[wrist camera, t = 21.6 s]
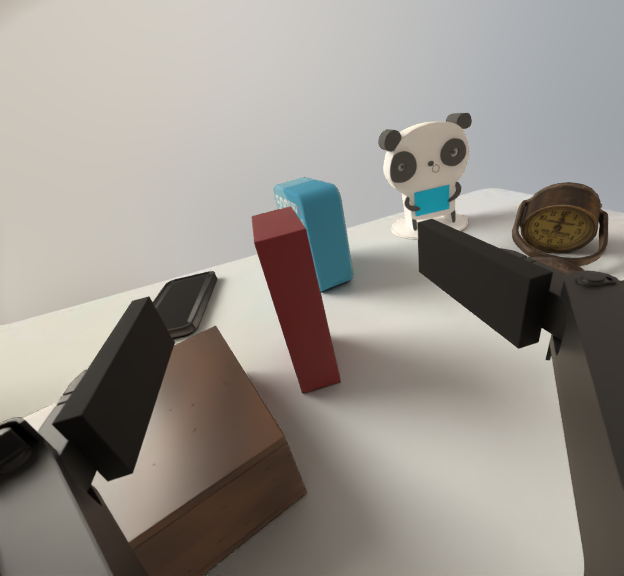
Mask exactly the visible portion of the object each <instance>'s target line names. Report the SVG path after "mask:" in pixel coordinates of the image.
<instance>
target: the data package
mask: <svg viewBox="0 0 624 576" xmlns="http://www.w3.org/2000/svg"><path fill="white" fill-rule="evenodd" d="M274 195H275V199H276V203H277V207H278V209H282V208H286V207H289V206H291V207H292V209H293V210H294V212H295V213H296V215H297V216H298V218H299V219H300V221H301V222H302V224H303V225H304V227H305V228H306V230H307V234H308V239H309V243H310V247H311V252H312V256H313V261H314V265H315V270H316V274H317V279H318V283H319V287H320V291H324V290H326V289H329V288H331V287H334V286H337V285H339V284H342V283H344V282H347V281H350V280H351V279H352V278H353V269H352V263H351V256H350V250H349V244H348V237H347V231H346V225H345V218H344V213H343V206H342V200H341V195H340V193H339V190H338V189H337V187H336V186H335V185H334V184H331V183H326V182H323V181H318V180H314V179H310V178H306V177H303V178H299V179H296V180H292V181H289V182H286V183H282V184H278V185H275V186H274Z"/></svg>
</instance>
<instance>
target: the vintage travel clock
mask: <svg viewBox="0 0 624 576" xmlns="http://www.w3.org/2000/svg"><path fill="white" fill-rule="evenodd" d="M601 207H602V204H601V203H600V199H599V196H598V194H597V193H595V191H594V190H593V189H592V188H590V187H588V186H586V185H583V184H579V183H570V182H567V183H557V184H554V185H550V186H548V187H546V188H544V189H542V190H540V191H539V192H537V193H536V194H535V195H534V196H533V197H532V198H530V199H528V200H524V201H523V202H522V203H521V204H520V206H519V208H518V212H517V215H516V219H515V223H514V226H513V230H512V238H513V241H514V242H515V244H516V245H517V246H518V247H519V248H520V249H521V250H522V251H523V252H524V253H525V254H527V255H528V256H529V257H530V258H533V259H535V260H536V261H540V262H542V263H544V264H547V265H549V266H551V267H554V268H556V269H558V270H561V271H563V272H565V273H568V274H569V273H571V272H576V271H584V270H583V269H582V268H581V267H579V266H582V265H588V264H590V263H592V262H594V261H596V260H597V259H599V258H600V257H601V255H602V254H603V253H604V251H605V250H606V247H607V243H608V214H607V212H605V211H603V210H601ZM598 222H599V224H600V228H599V249H598V251H597V252H596V253H595V254H593V255H591V256H586V257H582V258H563V257H558V256H554V255H550V254H546V253H543V252H541V251H544V252H549V253H565V252H570V251H573V250H576V249H580V248H582V247H583V246H585V245H587V244H588V243H589V242H591V241H592V240H593V238H594V237H595V236H596V234H597V230H598ZM519 226H520V227H521V235H522V237H523V239H524V240H523V239H522V237H521V236H520V234H519V231H518V229H519ZM532 247H533V248H532ZM534 248H535V249H534ZM536 249H537V250H536ZM538 250H539V251H538Z"/></svg>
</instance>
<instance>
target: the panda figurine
mask: <svg viewBox="0 0 624 576" xmlns="http://www.w3.org/2000/svg"><path fill="white" fill-rule="evenodd" d="M471 121H472V120H471V116H470V114H468V113H457V114H451V115H449V116H448V117H447V119H446V122H437V121H436V122H424V123H419V124H416V125H413V126H410V127H408V128H406V129H404V130H403V131H401V132H400V133H399V132H398V131H396V130H385V131H383V132H382V133H381V135H380V137H379V146H380V148H381V149H383V150H386V151H387V152H386V155H385V159H384V167H383V170H384V175H385V178H386V179H387V181H388V182H389V184H390V185H391V186H392V187H394V188H395V189H397V190H398V191H399V192H401V193H402V199H403V206H404V212H405V217H404V218H401V219H399V220H397V221H396V222H395V223H394V224H393V225H392V232H393V233H394V234H395V235H397V236H399V237H402V238H406V239H415V240H418V225H417V222H421V221H425V220H428V219H434V220H436V221H439V222H441V223H443V224H445V225H448V226H450V227H452V228H454V229H457V230H459V231H462V230H464V229H465V228H466V227H467V225H468V220H467V218H466V217H465V216H463V215H461V214H458V213H455V199H456V198H457V197H458V196H459V194H460V192H461V186H460V184H459V183H458V182H457V181H458V180H459V178H460V177H461V176H462V174H463V173H464V171H465V168H466V166H467V163H468V158H469V147H468V142H467V138H466V135H465V133H464V130H463V129H466V128H468V127H470V125H471ZM455 183H456V184H455ZM455 187H456V192H455Z"/></svg>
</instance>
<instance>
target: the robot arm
mask: <svg viewBox="0 0 624 576" xmlns="http://www.w3.org/2000/svg"><path fill="white" fill-rule="evenodd" d="M417 225H418V254H419V272H420V273H421V274H423V275H424V276H425V277H427V278H428V279H429V280H430V281H432V282H433V283H434V284H436V285H437V286H438V287H439V288H441V289H442V290H443V291H445V292H446V293H447V294H449V295H450V296H451V297H452V298H454V299H455V300H456V301H458V302H459V303H460V304H461V305H463V306H464V307H465V308H467V309H468V310H469V311H470V312H472V313H473V314H474V315H476V316H477V317H478V318H480V319H481V320H482V321H483V322H485V323H486V324H487V325H489V326H490V327H491V328H492V329H494V330H495V331H496V332H498V333H499V334H500V335H502V336H503V337H504V338H505V339H507V340H508V341H509V342H511V343H512V344H513V345H514V346H516V347H517V348H518V349H519V348H522V347H525V346H528V345H532V344H535V343H538V342H539V338H540V333H541V328H543V329H545V330H546V331H548V332H549V333H551V334H552V335H551V339H550V343H549V347H548V352H547V356H546V360H550V358H551V356H552V361H553V368H554V374H555V380H556V386H557V392H558V399H559V405H560V411H561V417H562V423H563V430H564V436H565V442H566V448H567V455H568V461H569V467H570V473H571V479H572V486H573V492H574V498H575V504H576V510H577V517H578V523H579V529H580V535H581V541H582V548H583V554H584V576H624V280H623V281H619V280H618V279H617V278H616V277H613V276H611V275H609V274H605V273H601V272H595V271H576V272H571V273H569V274H568V273H565V272H563V271H561V270H558V269H556V268H554V267H551V266H549V265H547V264H544V263H542V262H540V261H536V260H535V259H533V258H530V257H527V256H526V255H523V254H521V253H519V252H516V251H512V250H507V249H502V248H498V247H495V246H493V245H491V244H488V243H486V242H484V241H482V240H479V239H477V238H475V237H473V236H470V235H468V234H466V233H464V232H461V231H459V230H457V229H454V228H452V227H450V226H448V225H445V224H443V223H441V222H439V221H436V220H434V219H428V220H425V221H421V222H417ZM174 344H175V342H174V341H173V339H172V337H171V335H170V333H169V331H168V330H167V328H166V326H165V324H164V322H163V321H162V319H161V317H160V315H159V313H158V311H157V310H156V308H155V306H154V304H153V302H152V301H151V299H150V297H145V298H142V299H138V300H134V301H132V302H131V304H130V305H129V307H128V308H127V310H126V311H125V313H124V314H123V316H122V317H121V319H120V321H119V322H118V324H117V325H116V327H115V328H114V330H113V331H112V333H111V334H110V336H109V337H108V339H107V340H106V342H105V343H104V345H103V346H102V348H101V350H100V351H99V353H98V354H97V356H96V357H95V359H94V360H93V362H92V363H91V365H90V366H89V368H88V369H87V370H84V371H83V372H82V373H81V374H80V375H79V376H78V377H76V378H75V379H74V380H73V381H72V382H71V383H70V385H69V386H68V388H67V389H66V391H65V392H64V394H63V396H62V397H61V398H60V399H59V401H58V402H57V406H55V407H54V408H53V410H52V411H51V413H50V414H49V415H48V417H47V418H46V420H45V421H44V423H43V424H42V426H41V427H40V429H39V430H38V432H37V431H36V430H35V429H34V428H33V427H32V426H31V425H30V424H29V423H28V422H27V421H26V420H25V419H23V418H22V417H17V418H11V419H8V420H6V421H3V422H1V423H0V576H148V574H147V572H146V571H145V569H144V567H143V566H142V564H141V562H140V561H139V559H138V557H137V556H136V554H135V552H134V551H133V549H132V547H131V545H130V544H129V542H128V540H127V539H126V537H125V535H124V534H123V532H122V530H121V529H120V527H119V525H118V524H117V522H116V520H115V519H114V517H113V515H112V514H111V512H110V510H109V509H108V507H107V505H106V503H105V502H104V500H103V498H102V497H101V495H100V493H99V492H98V490H97V489H96V488H95V487H94V486H93V485H92V481H93V479H94V477H95V474H96V472H97V471H98V472H99V473H100V474H101V475H102V477H103V478H104V479H105V480H106V481H107V482H108V481H112V480H115V479H118V478H121V477H124V476H127V475H130V474H133V472H134V469H135V466H136V463H137V459H138V456H139V453H140V450H141V447H142V444H143V441H144V438H145V434H146V431H147V428H148V425H149V422H150V419H151V416H152V413H153V409H154V406H155V403H156V400H157V397H158V394H159V391H160V388H161V384H162V381H163V378H164V375H165V372H166V369H167V366H168V362H169V359H170V356H171V353H172V350H173V347H174Z"/></svg>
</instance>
